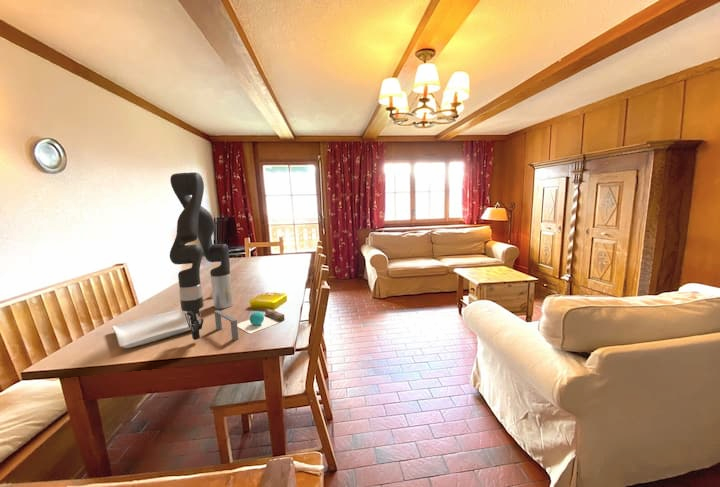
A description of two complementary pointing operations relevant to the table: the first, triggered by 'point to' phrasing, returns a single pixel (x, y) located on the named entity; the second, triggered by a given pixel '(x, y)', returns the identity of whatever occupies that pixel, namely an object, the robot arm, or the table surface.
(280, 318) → the stopper
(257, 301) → the element tile
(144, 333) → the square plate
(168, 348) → the table surface
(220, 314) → the grey u-shaped frame
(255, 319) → the ball
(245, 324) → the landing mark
